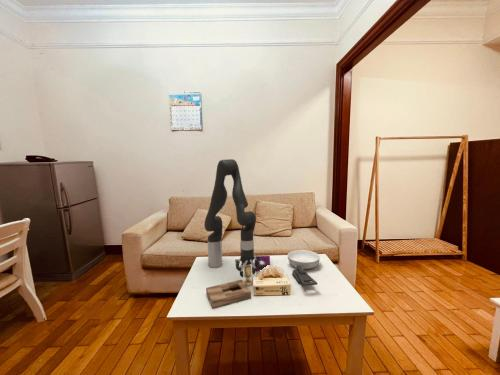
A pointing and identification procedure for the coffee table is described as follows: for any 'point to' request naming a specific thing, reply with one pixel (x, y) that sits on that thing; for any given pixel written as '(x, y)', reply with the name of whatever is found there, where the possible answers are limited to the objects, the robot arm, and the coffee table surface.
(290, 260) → the serving bowl
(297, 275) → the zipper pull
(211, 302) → the keyhole board
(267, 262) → the purple tall block
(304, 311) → the coffee table surface
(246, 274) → the peg
